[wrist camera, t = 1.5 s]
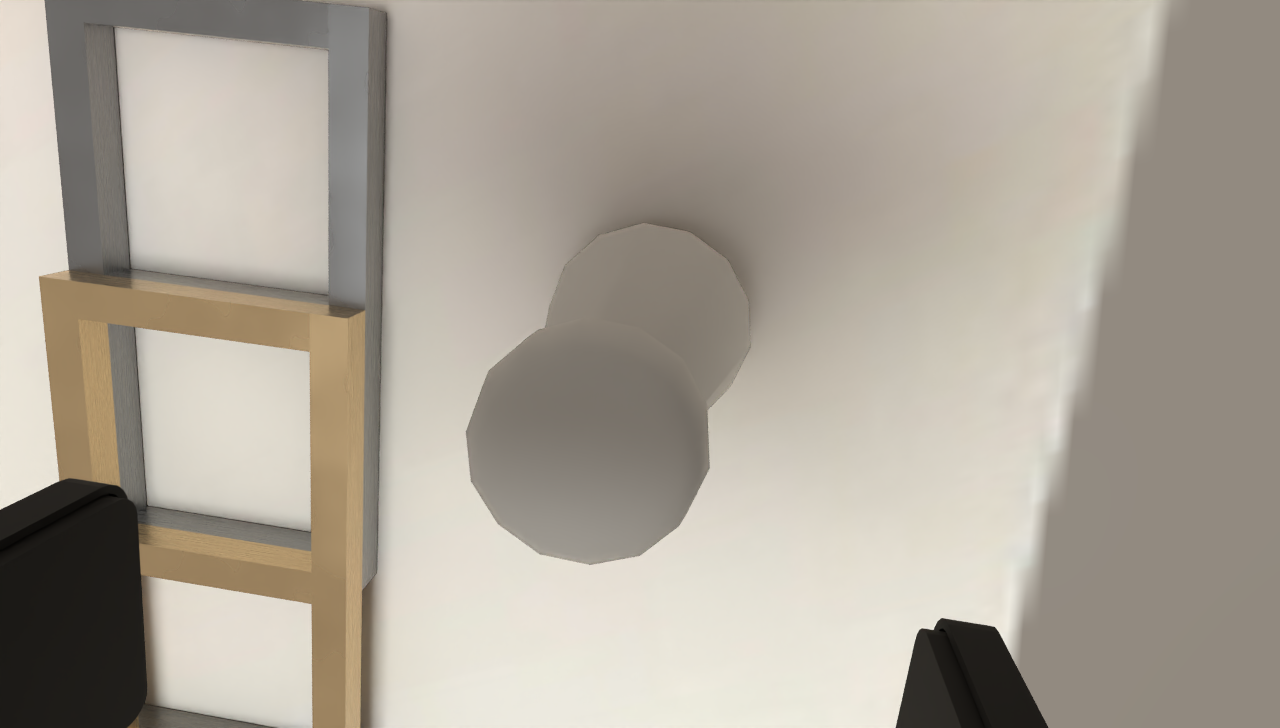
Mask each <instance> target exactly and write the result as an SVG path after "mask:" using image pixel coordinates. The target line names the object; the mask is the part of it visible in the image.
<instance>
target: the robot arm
mask: <svg viewBox="0 0 1280 728" xmlns="http://www.w3.org/2000/svg"><path fill="white" fill-rule="evenodd" d="M146 695H147V677H146V659H145V641H144V623H143V604H142V586H141V568H140V550H139V532H138V514H137V509H136V506H135V505H134V503H133V502H132V501H130V500H129V499H128V497H127V495H126V493H125V492H124V490H123V489H122V488H120V487H119V486H117V485H111V484H105V483H99V482H93V481H87V480H80V479H73V478H68V479H65V480H61V481H59V482H57V483H55V484H53V485H51V486H48V487H46V488H44V489H42V490H40V491H38V492H36V493H34V494H32V495H30V496H28V497H26V498H24V499H22V500H20V501H17V502H15V503H13V504H11V505H9V506H7V507H5V508H3V509H1V510H0V728H127V727H129V726H130V725H131V724H132V723H133V721H134V720H135V719H136V718H137V716H138V715H139V713H140V712H141V710H142V707H143V705H144V703H145V699H146ZM896 728H1048V726H1047V724H1046V723H1045V720H1044V718H1043V717H1042V715H1041V713H1040V711H1039V709H1038V707H1037V705H1036V703H1035V701H1034V699H1033V697H1032V695H1031V693H1030V691H1029V690H1028V688H1027V686H1026V684H1025V682H1024V680H1023V678H1022V676H1021V674H1020V672H1019V670H1018V668H1017V666H1016V665H1015V663H1014V661H1013V659H1012V657H1011V655H1010V653H1009V651H1008V649H1007V647H1006V645H1005V643H1004V641H1003V639H1002V638H1001V636H1000V634H999V632H998V631H997V629H996V628H995V627H992V626H987V625H981V624H975V623H968V622H962V621H956V620H950V619H944V618H941V619H940V620H939V621H938V622H937V624H936V626H935V628H934V630H929V629H923V628H922V629H920V630H919V632H918V634H917V637H916V640H915V644H914V648H913V653H912V657H911V662H910V666H909V671H908V675H907V680H906V684H905V689H904V693H903V698H902V702H901V707H900V711H899V716H898V720H897V725H896Z"/></svg>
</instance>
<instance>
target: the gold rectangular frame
mask: <svg viewBox="0 0 1280 728" xmlns="http://www.w3.org/2000/svg"><path fill="white" fill-rule="evenodd" d="M39 282H40V292H41V302H42V312H43V321H44V331H45V341H46V351H47V361H48V371H49V381H50V391H51V401H52V410H53V420H54V430H55V440H56V450H57V460H58V470H59V480H60V481H61V480H65V479H68V478H73V479H80V480H87V481H93V482H99V483H105V484H111V485H117V486H119V487H120V476H119V464H118V451H117V438H116V426H115V413H114V400H113V388H112V375H111V362H110V349H109V337H108V324H107V323H110V324H117V325H124V326H131V327H138V328H145V329H152V330H159V331H166V332H174V333H181V334H188V335H195V336H202V337H209V338H216V339H223V340H230V341H237V342H245V343H252V344H259V345H266V346H273V347H280V348H287V349H294V350H301V351H308V352H310V447H311V551H305V550H299V549H293V548H287V547H281V546H274V545H268V544H262V543H256V542H250V541H244V540H238V539H232V538H225V537H219V536H213V535H207V534H201V533H195V532H189V531H183V530H176V529H170V528H164V527H158V526H152V525H146V524H140V523H138V532H139V550H140V568H141V575H144V576H150V577H156V578H162V579H168V580H174V581H180V582H185V583H191V584H197V585H203V586H209V587H215V588H221V589H227V590H233V591H239V592H244V593H250V594H256V595H262V596H268V597H274V598H280V599H286V600H292V601H298V602H304V603H309V604H312V711H313V728H360V712H361V628H362V545H363V461H364V378H365V310H360V309H352V308H345V307H338V306H330V305H323V304H316V303H308V302H301V301H293V300H286V299H279V298H271V297H264V296H256V295H249V294H242V293H234V292H227V291H219V290H212V289H205V288H197V287H190V286H183V285H175V284H168V283H160V282H153V281H146V280H138V279H131V278H123V277H116V276H109V275H101V274H94V273H87V272H79V271H72V270H67V271H63V272H58V273H53V274H48V275H43V276H39ZM127 728H271V727H265V726H260V725H254V724H249V723H243V722H238V721H232V720H227V719H222V718H216V717H211V716H205V715H200V714H194V713H189V712H184V711H178V710H173V709H167V708H162V707H156V706H151V705H146V704H144V705H143V707H142V710H141V712H140V713H139V715H138V716H137V718H136V719H135V720H134V721H133V723H132V724H131V725H130V726H129V727H127Z"/></svg>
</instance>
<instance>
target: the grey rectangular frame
mask: <svg viewBox="0 0 1280 728" xmlns="http://www.w3.org/2000/svg"><path fill="white" fill-rule="evenodd" d="M45 9H46V20H47V31H48V42H49V53H50V65H51V76H52V87H53V98H54V109H55V120H56V131H57V142H58V153H59V164H60V175H61V186H62V197H63V208H64V219H65V230H66V241H67V252H68V263H69V270H72V271H79V272H87V273H94V274H101V275H109V276H116V277H123V278H131V279H138V280H146V281H153V282H160V283H168V284H175V285H183V286H190V287H197V288H205V289H212V290H219V291H227V292H234V293H242V294H249V295H256V296H264V297H271V298H279V299H286V300H293V301H301V302H308V303H316V304H323V305H330V306H338V307H345V308H352V309H360V310H365V378H364V461H363V545H362V590H363V589H364V588H365V586H366V585H367V584H368V583H369V582H370V580H371V579H372V578H373V577H374V576H375V574H376V573H377V526H378V469H379V412H380V356H381V299H382V242H383V185H384V128H385V71H386V14H387V13H384V12H381V11H378V10H375V9H372V8H367V7H357V6H348V5H338V4H328V3H318V2H308V1H298V0H45ZM113 27H118V28H127V29H136V30H146V31H155V32H164V33H174V34H183V35H192V36H202V37H211V38H221V39H230V40H239V41H249V42H258V43H267V44H277V45H286V46H296V47H305V48H314V49H324V50H328V73H329V295H321V294H314V293H306V292H299V291H292V290H284V289H277V288H269V287H262V286H254V285H247V284H239V283H232V282H225V281H217V280H210V279H202V278H195V277H187V276H180V275H172V274H165V273H158V272H150V271H143V270H135V269H130V261H129V247H128V232H127V218H126V204H125V189H124V175H123V160H122V146H121V132H120V117H119V103H118V89H117V74H116V60H115V45H114V31H113ZM107 324H108V337H109V349H110V362H111V375H112V388H113V400H114V413H115V426H116V438H117V451H118V464H119V476H120V488H122V489H123V490H124V492H125V493H126V495H127V497H128V499H129V500H130V501H132V502H133V503H134V505H135V506H136V509H137V514H138V523H140V524H146V525H152V526H158V527H164V528H170V529H176V530H183V531H189V532H195V533H201V534H207V535H213V536H219V537H225V538H232V539H238V540H244V541H250V542H256V543H262V544H268V545H274V546H281V547H287V548H293V549H299V550H305V551H311V532H305V531H298V530H292V529H286V528H280V527H274V526H267V525H261V524H255V523H249V522H243V521H236V520H230V519H224V518H218V517H212V516H205V515H199V514H193V513H187V512H181V511H174V510H168V509H162V508H156V507H150V506H146V492H145V477H144V463H143V448H142V434H141V420H140V405H139V391H138V376H137V362H136V348H135V333H134V327H131V326H124V325H117V324H110V323H107Z"/></svg>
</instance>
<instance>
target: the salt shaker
mask: <svg viewBox="0 0 1280 728" xmlns="http://www.w3.org/2000/svg"><path fill="white" fill-rule="evenodd" d="M749 349H750V316H749V300H748V298H747V296H746V294H745V292H744V290H743V288H742V286H741V284H740V282H739V280H738V278H737V276H736V274H735V272H734V270H733V268H732V266H731V265H730V263H729V261H728V260H727V259H726V258H725V257H723V256H722V255H721V254H719V253H718V252H717V251H715V250H714V249H713V248H711V247H710V246H709V245H707V244H706V243H705V242H703V241H702V240H700V239H699V238H698V237H696V236H695V235H694V234H692V233H691V232H689V231H684V230H678V229H673V228H668V227H663V226H658V225H652V224H647V223H641V224H637V225H634V226H630V227H627V228H623V229H619V230H616V231H612V232H608V233H605V234H601V235H599V236H597V237H596V238H595V239H594V240H593V241H592V242H591V243H590V244H588V245H587V246H586V247H585V248H584V249H583V250H582V251H581V252H579V253H578V254H577V255H576V256H575V257H574V258H573V259H572V260H570V261H569V262H568V263H567V264H566V265H565V267H564V269H563V272H562V274H561V277H560V280H559V282H558V285H557V287H556V290H555V293H554V295H553V298H552V301H551V303H550V306H549V310H548V316H547V321H546V326H545V328H543V329H539V330H537V331H536V332H534V333H533V334H532V335H530V336H529V337H528V338H526V339H525V340H524V341H523V342H522V343H521V344H519V345H518V346H517V347H516V348H515V349H514V350H512V351H511V352H510V353H509V354H508V355H507V356H505V357H504V358H503V359H502V360H501V361H500V362H498V363H497V364H496V365H495V366H494V367H493V368H491V369H490V370H489V372H488V374H487V377H486V379H485V381H484V384H483V386H482V389H481V392H480V395H479V397H478V400H477V403H476V406H475V408H474V411H473V414H472V417H471V419H470V422H469V425H468V428H467V430H466V437H467V447H468V457H469V466H470V476H471V482H472V483H473V485H474V487H475V488H476V490H477V491H478V493H479V495H480V496H481V498H482V499H483V501H484V503H485V504H486V506H487V507H488V509H489V510H490V512H491V514H492V515H493V517H494V518H495V520H496V522H497V523H498V524H499V525H500V526H501V527H503V528H504V529H506V530H507V531H508V532H510V533H511V534H513V535H514V536H515V537H517V538H518V539H519V540H521V541H522V542H524V543H525V544H526V545H528V546H529V547H531V548H532V549H533V550H535V551H536V552H537V553H539V554H541V555H546V556H551V557H556V558H560V559H565V560H570V561H574V562H579V563H584V564H589V565H592V564H597V563H603V562H608V561H614V560H619V559H625V558H630V557H635V556H640V555H641V554H643V553H644V552H645V551H647V550H648V549H649V548H651V547H652V546H653V545H655V544H656V543H657V542H659V541H660V540H661V539H662V538H664V537H665V536H666V535H668V534H669V533H670V532H672V531H673V530H674V529H676V528H677V527H678V526H679V525H680V524H681V522H682V520H683V519H684V517H685V515H686V514H687V512H688V510H689V508H690V506H691V504H692V502H693V500H694V498H695V496H696V494H697V492H698V490H699V488H700V486H701V484H702V482H703V480H704V478H705V476H706V474H707V472H708V470H709V468H710V465H709V439H708V416H707V410H708V409H709V408H710V407H711V406H712V405H713V404H714V403H715V402H716V401H717V400H718V399H719V398H720V397H721V396H722V395H723V394H724V393H725V392H726V391H727V390H728V389H729V387H730V386H731V385H732V383H733V381H734V379H735V377H736V375H737V373H738V371H739V369H740V367H741V365H742V363H743V361H744V359H745V357H746V355H747V353H748V351H749Z"/></svg>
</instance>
